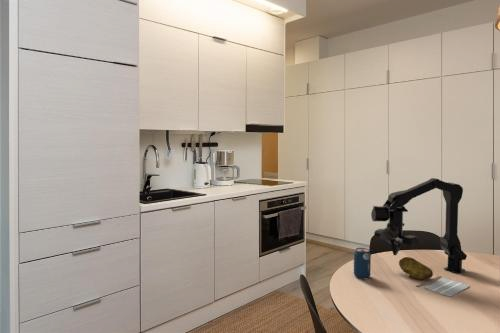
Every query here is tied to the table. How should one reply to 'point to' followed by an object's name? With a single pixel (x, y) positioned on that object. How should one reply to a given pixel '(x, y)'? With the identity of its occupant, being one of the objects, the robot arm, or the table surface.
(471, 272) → the table surface
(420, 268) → the potato
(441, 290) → the mat
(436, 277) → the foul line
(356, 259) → the soda can
